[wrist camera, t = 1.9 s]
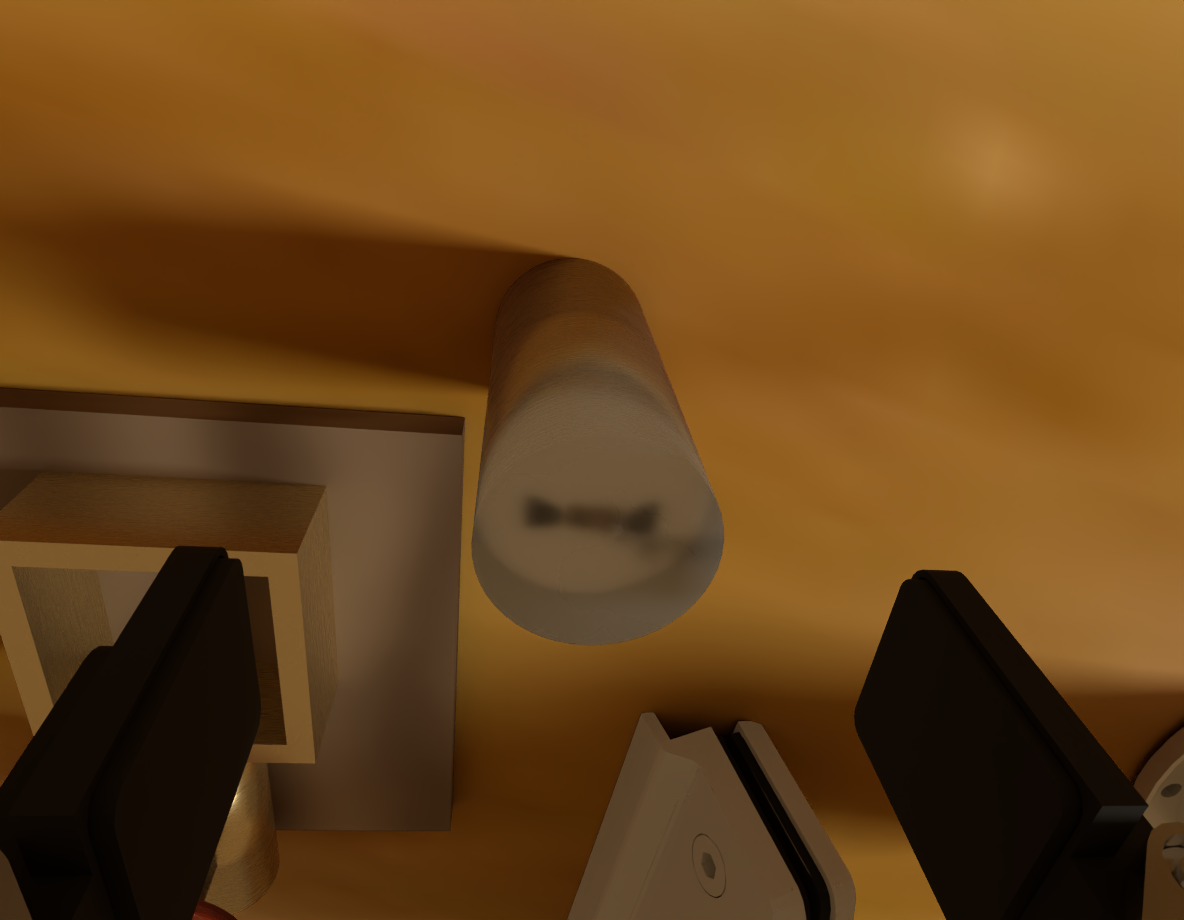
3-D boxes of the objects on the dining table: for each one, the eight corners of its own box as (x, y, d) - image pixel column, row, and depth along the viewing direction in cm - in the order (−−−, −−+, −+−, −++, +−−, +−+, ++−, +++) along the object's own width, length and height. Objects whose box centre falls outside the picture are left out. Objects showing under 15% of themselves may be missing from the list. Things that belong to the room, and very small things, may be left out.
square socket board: (326, 485, 24) (261, 634, 18) (348, 830, 32) (307, 1012, 26) (43, 470, 23) (-121, 622, 17) (136, 829, 31) (44, 1018, 25)
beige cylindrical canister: (653, 265, 23) (746, 445, 13) (634, 404, 25) (701, 648, 15) (499, 251, 22) (476, 428, 13) (492, 395, 24) (467, 641, 15)
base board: (464, 417, 24) (462, 435, 23) (452, 805, 33) (450, 831, 32) (-24, 386, 23) (-51, 403, 22) (96, 801, 31) (81, 828, 30)
